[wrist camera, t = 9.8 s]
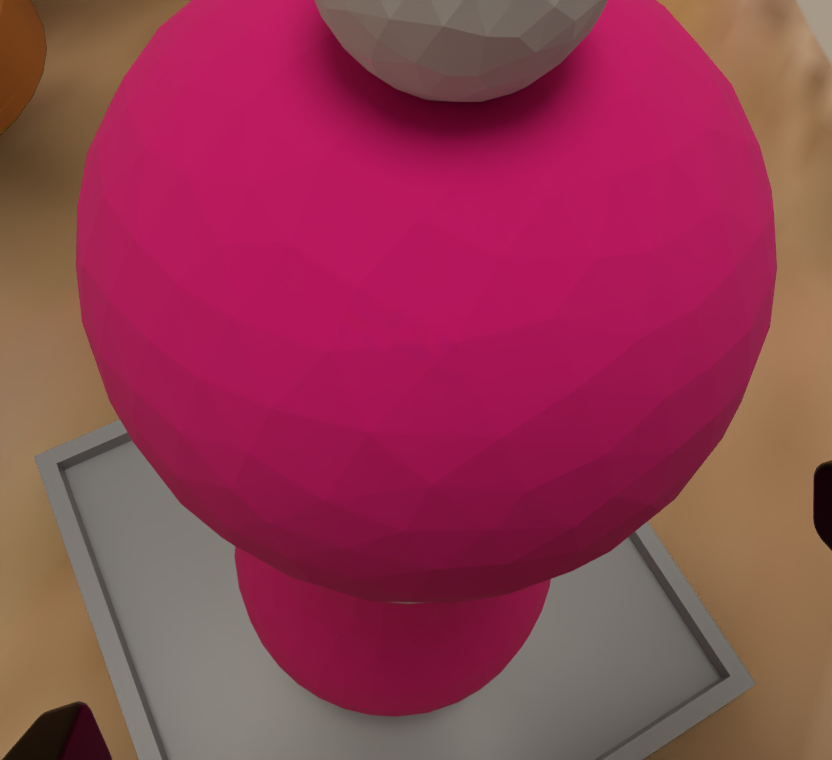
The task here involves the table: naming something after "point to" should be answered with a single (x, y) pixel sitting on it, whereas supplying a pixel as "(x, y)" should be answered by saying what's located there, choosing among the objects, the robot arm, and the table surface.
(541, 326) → the pepper mill
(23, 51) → the decorative plant
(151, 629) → the tray
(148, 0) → the table surface
